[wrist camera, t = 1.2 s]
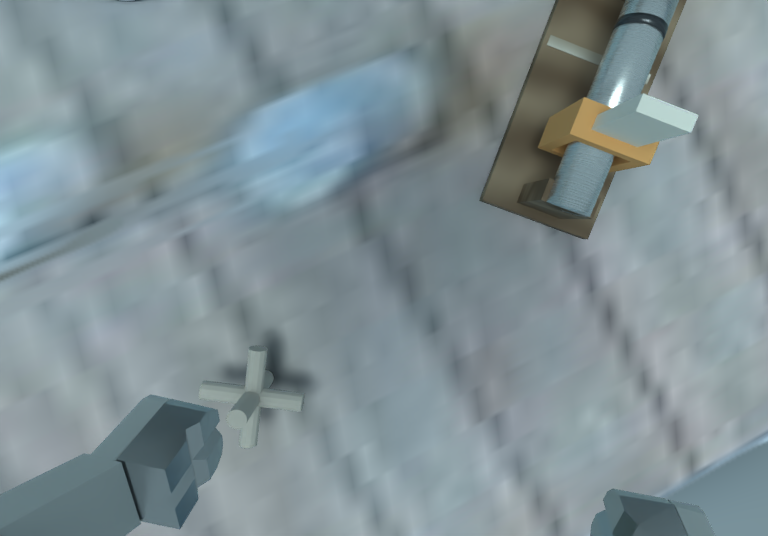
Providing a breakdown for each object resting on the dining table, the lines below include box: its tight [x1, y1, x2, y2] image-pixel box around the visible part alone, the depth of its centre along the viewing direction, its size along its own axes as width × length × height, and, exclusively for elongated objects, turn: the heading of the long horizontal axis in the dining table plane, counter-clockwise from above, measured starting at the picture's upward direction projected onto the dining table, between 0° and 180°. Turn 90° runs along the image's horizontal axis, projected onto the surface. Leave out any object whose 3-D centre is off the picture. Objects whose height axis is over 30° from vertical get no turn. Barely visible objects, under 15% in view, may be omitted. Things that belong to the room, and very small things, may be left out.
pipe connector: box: [199, 346, 304, 449], centre depth 43 cm, size 10×10×10 cm
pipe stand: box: [479, 0, 686, 239], centre depth 41 cm, size 26×12×8 cm, turn 160°
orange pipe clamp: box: [538, 93, 698, 173], centre depth 35 cm, size 3×7×13 cm, turn 70°
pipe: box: [546, 0, 679, 217], centre depth 37 cm, size 24×4×4 cm, turn 160°
